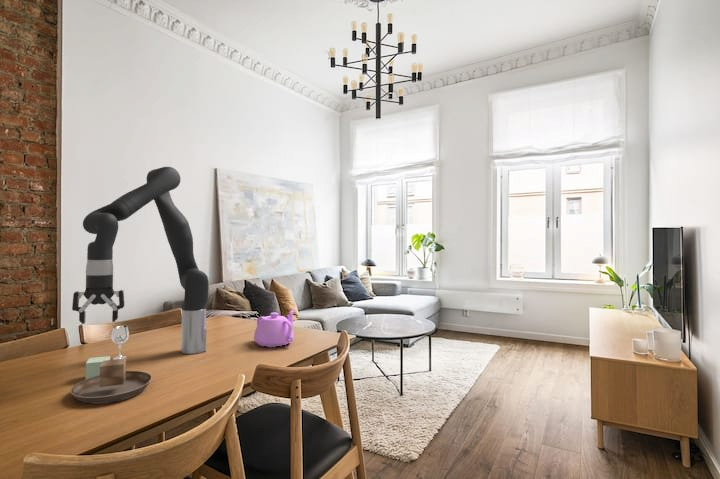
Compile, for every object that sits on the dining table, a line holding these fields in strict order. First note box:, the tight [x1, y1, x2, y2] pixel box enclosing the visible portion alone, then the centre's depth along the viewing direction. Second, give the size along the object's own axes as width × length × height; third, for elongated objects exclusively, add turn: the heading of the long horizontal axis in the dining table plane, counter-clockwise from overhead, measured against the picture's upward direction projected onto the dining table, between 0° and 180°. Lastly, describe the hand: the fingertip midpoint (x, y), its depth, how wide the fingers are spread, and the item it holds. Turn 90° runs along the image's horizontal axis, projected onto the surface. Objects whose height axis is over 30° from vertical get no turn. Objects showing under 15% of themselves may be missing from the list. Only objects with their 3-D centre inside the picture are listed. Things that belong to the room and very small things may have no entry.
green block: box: [85, 355, 111, 380], centre depth 132 cm, size 6×6×6 cm
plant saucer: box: [69, 370, 153, 405], centre depth 120 cm, size 21×21×3 cm
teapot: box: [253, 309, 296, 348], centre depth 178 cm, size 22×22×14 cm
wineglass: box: [110, 325, 130, 360], centre depth 152 cm, size 6×6×12 cm
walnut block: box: [100, 358, 127, 387], centre depth 120 cm, size 6×6×6 cm
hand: (98, 322), depth 132 cm, fingers open, 8 cm apart
